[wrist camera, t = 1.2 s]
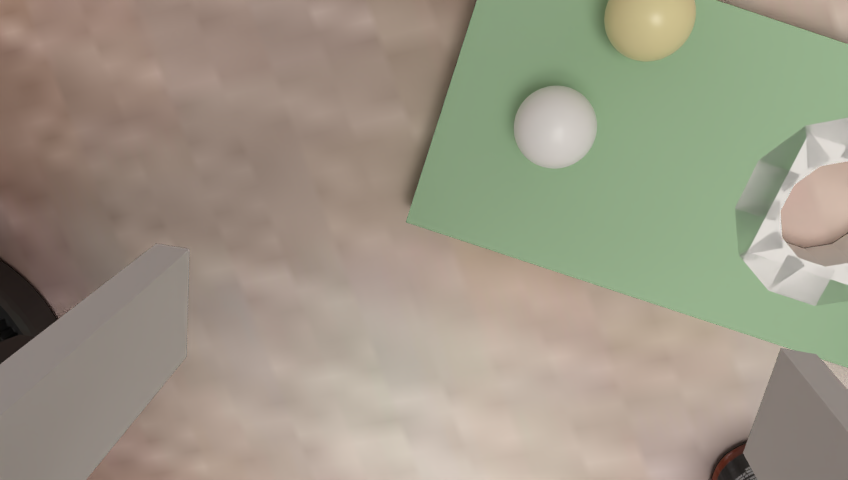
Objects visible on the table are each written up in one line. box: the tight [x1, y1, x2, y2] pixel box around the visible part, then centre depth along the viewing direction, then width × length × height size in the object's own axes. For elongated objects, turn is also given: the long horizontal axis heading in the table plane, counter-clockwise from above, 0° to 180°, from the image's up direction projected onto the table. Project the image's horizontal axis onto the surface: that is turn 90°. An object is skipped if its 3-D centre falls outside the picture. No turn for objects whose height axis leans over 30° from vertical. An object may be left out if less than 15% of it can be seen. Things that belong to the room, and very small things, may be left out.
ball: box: [514, 86, 597, 169], centre depth 31 cm, size 4×4×4 cm
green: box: [406, 0, 848, 368], centre depth 33 cm, size 26×14×6 cm, turn 73°
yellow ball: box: [604, 0, 696, 62], centre depth 29 cm, size 4×4×4 cm
